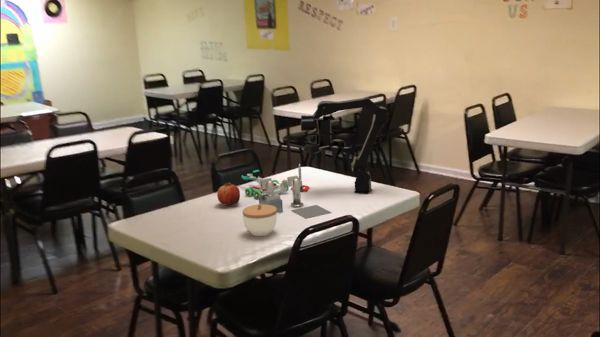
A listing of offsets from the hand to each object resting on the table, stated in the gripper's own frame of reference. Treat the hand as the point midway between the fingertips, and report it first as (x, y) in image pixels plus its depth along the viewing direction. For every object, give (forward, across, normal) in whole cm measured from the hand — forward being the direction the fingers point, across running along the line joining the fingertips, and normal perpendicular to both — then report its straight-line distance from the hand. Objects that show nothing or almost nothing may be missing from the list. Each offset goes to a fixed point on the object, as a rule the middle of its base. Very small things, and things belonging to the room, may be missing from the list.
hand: (325, 164), depth 261 cm
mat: (+13, +20, +16) cm, 29 cm away
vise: (+13, +32, +3) cm, 34 cm away
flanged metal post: (+13, +20, +6) cm, 25 cm away
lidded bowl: (+13, +49, +24) cm, 56 cm away
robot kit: (+14, +21, -22) cm, 34 cm away
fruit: (+13, +42, -14) cm, 46 cm away
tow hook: (+13, +5, -13) cm, 19 cm away
